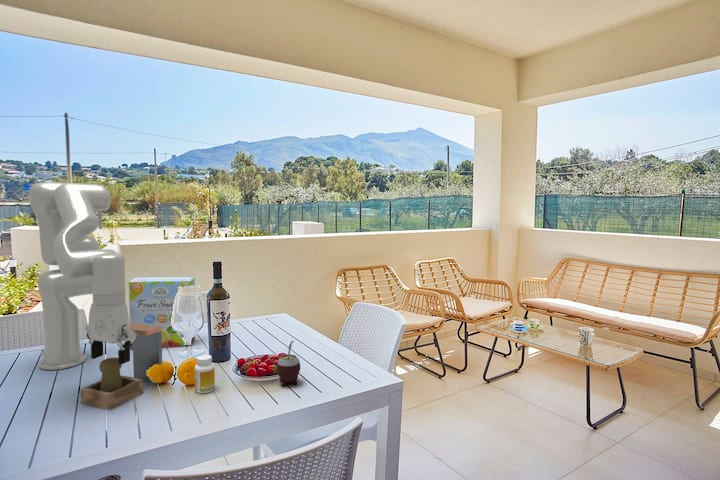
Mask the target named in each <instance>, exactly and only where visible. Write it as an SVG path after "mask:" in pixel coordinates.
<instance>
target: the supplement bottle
mask: <svg viewBox="0 0 720 480" xmlns="http://www.w3.org/2000/svg"><path fill="white" fill-rule="evenodd" d="M212 361H213V357H212V355H210V354H203V355H199V356H197V358H196V365H195V366H194V391H195V392H196V393H197V394H207V393H210V392H212V391H214V390H215V388H216V387H215V385H216V381H215V380H216V377H215V376H216V375H215V373H216V372H215V371H216V370H215V364H214V363H213V362H212Z"/></svg>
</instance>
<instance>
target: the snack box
mask: <svg viewBox="0 0 720 480" xmlns="http://www.w3.org/2000/svg"><path fill="white" fill-rule="evenodd" d="M195 279H196V278H195V276H174V277H173V276H168V277H167V276H163V277H162V276H156V277H151V276H150V277H134V278H133V279H132V280H130V281H128V294H129V295H128V297H129V298H128V299H129V300H128V303H129V304H128V305H129V306H128V307H129V325H131V324H134V323H138V324H146V325H153V326H160V327H162V348H178V347H180V348H181V347H186V346H185V345H184V343H183V341H182V339H181V338H180V336H179V335H178V334H177V333H176V332H175V331H173V329H172V326H171V317H172V311H173V304H174V299H175V296H176V294H177V292H178V287H179V286H182V287H184V286H190V285H196V283H195ZM195 336H196V335H195ZM195 336H194V337H193V338H192V340H191V346H190V347H192V346H193V344H194V343H195V339H196V337H195ZM131 349H132V350H133V345H132V347H130V350H131Z"/></svg>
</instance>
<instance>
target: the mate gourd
mask: <svg viewBox="0 0 720 480" xmlns="http://www.w3.org/2000/svg"><path fill="white" fill-rule="evenodd" d="M294 342H295V341H294V340H292V341H291V342H290V343H289V345H288V352H287V354H283V355H281V356H280V357H279V358H278V360H277V362H276V372H277V375H278V377H279V382H281V383H282V384H281V388H285V387H286V386H287V385H291V386H292V385H293V386H298V382H297V381H298V380H299V379H298V378H299V374H300V370H301V362H300V359H299V357H298V356H297V355H295V354H291V351H292V350H291V349H292V345H293V343H294Z"/></svg>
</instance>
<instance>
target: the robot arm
mask: <svg viewBox="0 0 720 480" xmlns="http://www.w3.org/2000/svg"><path fill="white" fill-rule="evenodd" d="M28 201H29V205H30V207H31V210H32V213H33V215H34V216H35V217H36V220H37V223H38V228H39V229H38V231H39V232H38V233H39V240H40V241H39V243H40V253H41V254H40V255H41V258H42V259H41V260H42V261H43V262H44V264H46V265H48V266H57V267H58V268H57V269H52V270H47V271H45V272H43V273H42V274H41V275H39V277H38V280H37V287H38V291H39V295H40V300H41V305H42V306H41V307H42V319H43V341H44V350H41V351H40V353H39V354H40V355H41V356H43V360H42V361H40V362H39V368H40V369H41V370H44V371H58V370H64V369H69V368H72V367H75V366H79V365H81V364H83V363H85V361H86V360H87V354H84V353H81V336H80V335H81V334H80V333H81V331H80V311H79V308H78V306H77V305H76V304H75V303H74V302H72V301H71V300H70V298H74V297H78V296H79V297H80V296H87V295H92V303H91V304H90V307H89V313H88V324H87V325H86V326H84V331H85V333H86V337H87V338H88V340H89V341H88V343H89V345H90V357H91V359H93V360H95V359H97V358H100V357H102V356H104V343H105V344H116V345H117V347H118V348H119V349H118V352H117V358H118V363H119V364H120V365H121V364H122V365H124V364H126V363H127V362H128V363H129V362H130V361H131V349H130V347H132V345H133V343H134V341H135V338H136V336H137V335H136V333H134V332H133V331H132V330H131V329H130V328H129V325H130V315H129V309H128V306H127V303H126V264H125V262H126V261H125V256H124V255H123V254H121V253H118V252H117V251H116V250H114V249H110V248H109V249H107V248H106V249H105V248H104V249H100V245H99V243H98V241H97V239H96V238H95V237H93V236H91V235H90V234H92V233H94V232H95V231H96V230H97V229H98V227H99V225H100V220H99V218H98V216H97V214H96V212H105V211H107V210H109V208H110V206H111V205H112V197H111V193H110V191H109V190H108V188H107V187H105V186H104V185H103V184H95V183H79V182H78V183H76V182H59V181H58V182H57V181H56V182H55V181H54V182H53V181H48V182H47V181H45V182H42V181H41V182H38V183H34V184H33V185H31V186H30V188H29V192H28ZM123 342H124V343H123Z"/></svg>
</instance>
